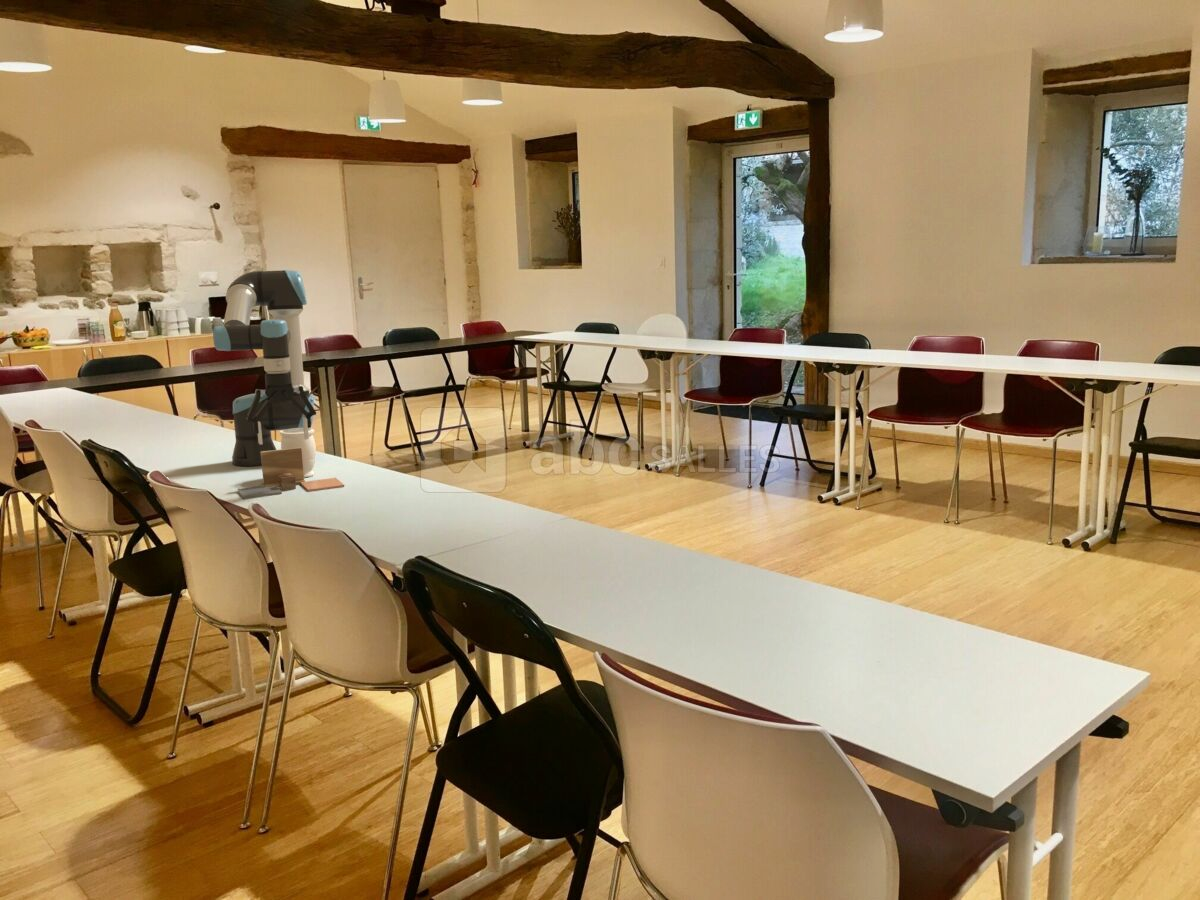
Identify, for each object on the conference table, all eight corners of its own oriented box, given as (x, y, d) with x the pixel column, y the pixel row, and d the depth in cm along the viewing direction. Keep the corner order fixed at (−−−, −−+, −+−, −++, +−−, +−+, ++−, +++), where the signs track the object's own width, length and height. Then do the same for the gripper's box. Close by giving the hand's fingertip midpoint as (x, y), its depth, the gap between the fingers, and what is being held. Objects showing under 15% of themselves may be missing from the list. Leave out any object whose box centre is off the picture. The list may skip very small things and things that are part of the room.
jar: (322, 472, 326) (319, 427, 323) (310, 479, 316) (306, 433, 313) (291, 472, 327) (287, 427, 324) (278, 479, 317) (274, 433, 314)
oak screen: (262, 485, 310) (259, 450, 308) (301, 480, 316) (299, 446, 314) (265, 488, 306) (262, 453, 304) (305, 483, 312) (302, 449, 309)
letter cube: (280, 487, 307) (278, 473, 306) (293, 486, 308) (292, 472, 307) (282, 490, 303) (281, 476, 302) (295, 488, 305) (294, 474, 304)
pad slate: (237, 491, 304) (237, 489, 304) (274, 486, 309) (274, 484, 309) (243, 498, 294) (243, 496, 294) (281, 493, 299) (281, 491, 299)
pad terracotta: (300, 484, 311) (300, 482, 311) (335, 479, 316) (335, 477, 316) (308, 491, 301) (308, 489, 301) (344, 486, 306) (344, 484, 306)
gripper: (235, 376, 289) (242, 447, 294) (322, 369, 301) (328, 438, 305) (232, 373, 296) (238, 443, 300) (317, 367, 307) (322, 434, 312)
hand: (283, 441), depth 303 cm, fingers open, 13 cm apart
